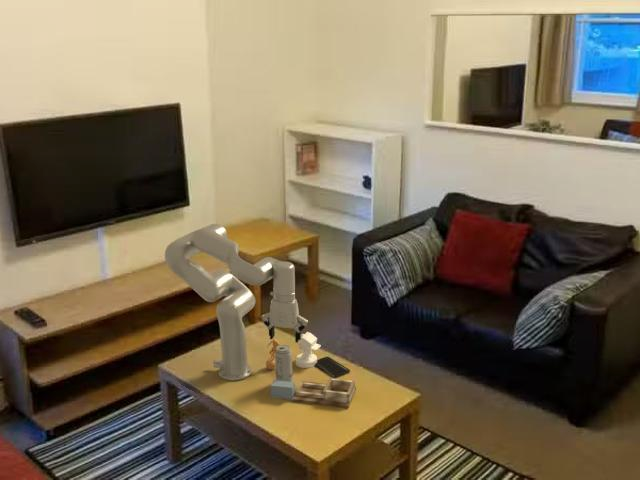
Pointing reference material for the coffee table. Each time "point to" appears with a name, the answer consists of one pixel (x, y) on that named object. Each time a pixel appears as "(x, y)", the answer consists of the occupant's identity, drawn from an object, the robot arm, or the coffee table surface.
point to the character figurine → (307, 351)
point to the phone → (332, 367)
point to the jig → (326, 393)
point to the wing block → (282, 389)
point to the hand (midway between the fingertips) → (284, 339)
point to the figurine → (271, 363)
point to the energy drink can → (283, 363)
